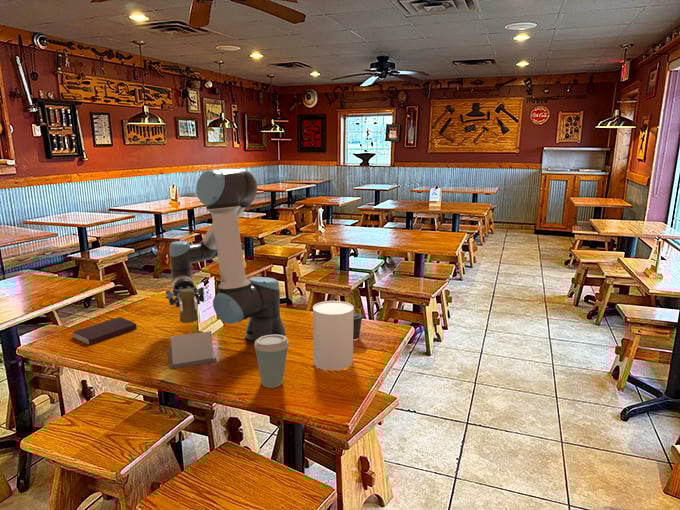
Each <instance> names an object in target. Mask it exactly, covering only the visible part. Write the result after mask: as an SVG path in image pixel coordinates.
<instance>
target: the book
mask: <svg viewBox="0 0 680 510" xmlns="http://www.w3.org/2000/svg"><path fill="white" fill-rule="evenodd" d="M134 329H135V330H137V329H138V327H137V323H135V322H133V321H131V320H129V319H126V318H124V317H121V316H119V317H115V318H111V319H108V320H105V321H103V322H99V323H95V324H93V325H90V326H87V327H84V328H80V329H76V330H74V331H72V334H73V337H72V338H73V339H75V340H78V341H80V342H83V343H85V344H87V345H89V346H90V345H94V344H96V343H100V342H103V341H106V340H109V339H111V338H110V337H112V338H114V336H115V337H117V336H120V335H123V334H126V333H129V332H133V331H135V330H134ZM125 332H126V333H125ZM108 338H109V339H108ZM105 339H106V340H105ZM102 340H103V341H102Z"/></svg>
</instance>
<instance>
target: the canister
mask: <svg viewBox="0 0 680 510" xmlns="http://www.w3.org/2000/svg"><path fill="white" fill-rule="evenodd" d="M354 309H355V308H354V305H353V304H351V303H349V302H347V301H341V300H326V301H321V302H317V303H315V304H314V305H313V306H312V333H313V334H312V335H313V336H312V342H313V343H312V344H313V345H312V346H313V349H312V350H313V353H312V355H313V357H312V358H313V360H312V361H313V362H314V363H313V366H314V365H315V366H316V367H317V368H316V367H315V366H314V367H315V368H316V369H318V368H320V369H323V370H340V369H344V368H346V367H349V366H350V365H351V364H352V362H353V363H354V341H353V318H354V313H355V312H354V311H355V310H354Z"/></svg>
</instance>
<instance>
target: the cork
mask: <svg viewBox="0 0 680 510" xmlns="http://www.w3.org/2000/svg"><path fill="white" fill-rule="evenodd" d="M179 297H180V299H182V305H183V311H180V313H179V322H180V323H182V324H183V323H184V324H189V323H191V324H192V323H195V322H197V321H198V319H199V317H198V314H197V313H198V312H197V310H195V307H194V297H195V292H194V290H193V289H183V290H181V291H180V292H179Z"/></svg>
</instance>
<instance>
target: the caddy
mask: <svg viewBox="0 0 680 510" xmlns="http://www.w3.org/2000/svg"><path fill="white" fill-rule="evenodd" d="M212 333H213V332H212V330H209V331H203V332H202V331H201V332H194V333H188V334H180V335H174V336H173V335H172V336H170V344H171V346H168V347H167V349H168V350H167V352H168V360H169V368H170V370H172V369H178V368H184V367H189V366H196V365H203V364H209V363H215V362H216V363H217V356H216V353H215V349H214V346H213V335H212Z"/></svg>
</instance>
